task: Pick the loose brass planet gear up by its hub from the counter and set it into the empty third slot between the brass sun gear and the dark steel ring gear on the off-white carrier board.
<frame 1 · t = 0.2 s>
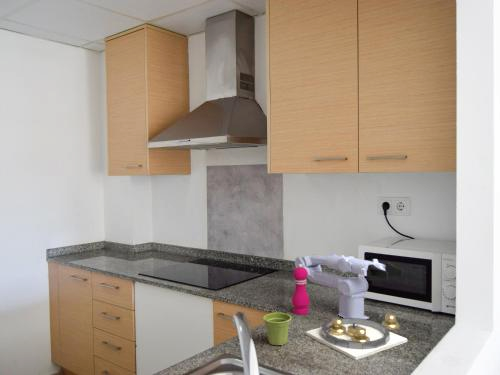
hand: (395, 274, 145), 21 cm above the worktop, tool horizontal, fingers open, 7 cm apart
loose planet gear: (390, 327, 153), on the worktop
plant pot: (277, 343, 141), on the worktop
carrier board: (355, 338, 143), on the worktop
pepper mill: (300, 312, 170), on the worktop
ring gear: (355, 332, 143), on the carrier board, point 1 cm above the worktop
sun and planets: (351, 329, 142), in the ring gear, point 3 cm above the worktop
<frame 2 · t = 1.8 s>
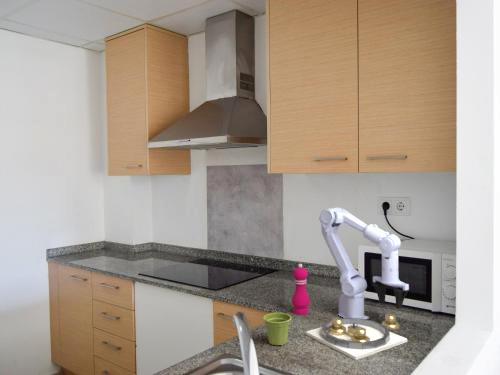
hand: (390, 305, 152), 8 cm above the worktop, tool pointing down, fingers open, 7 cm apart
nothing on the worktop moved.
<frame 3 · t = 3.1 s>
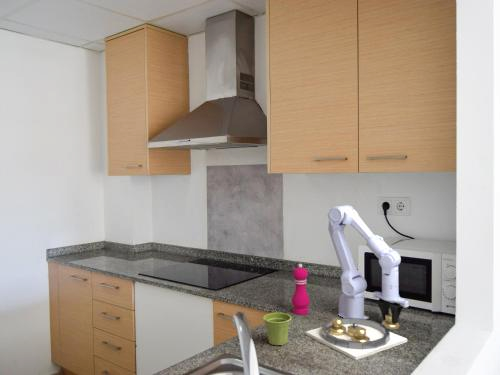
hand: (390, 321, 153), 2 cm above the worktop, tool pointing down, fingers closed on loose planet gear, 4 cm apart
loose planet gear: (390, 326, 153), on the worktop, touching gripper
everything else where it was.
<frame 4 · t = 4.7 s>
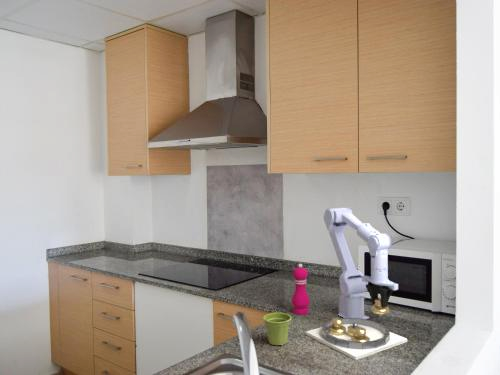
hand: (379, 305, 149), 9 cm above the worktop, tool pointing down, fingers closed on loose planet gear, 4 cm apart
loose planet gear: (380, 311, 149), point 7 cm above the worktop, touching gripper
everything else where it was.
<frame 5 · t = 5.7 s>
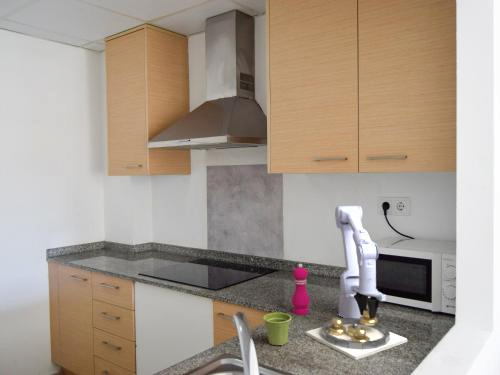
hand: (367, 316, 146), 6 cm above the worktop, tool pointing down, fingers closed on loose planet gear, 4 cm apart
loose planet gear: (368, 322, 147), point 4 cm above the worktop, touching gripper
everything else where it was.
when the fingers open (4 cm above the worktop, at t = 6.4 s): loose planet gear drops 1 cm, resting on carrier board.
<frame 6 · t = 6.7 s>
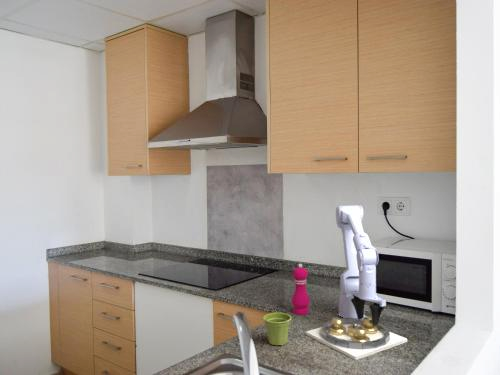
hand: (367, 321, 146), 4 cm above the worktop, tool pointing down, fingers open, 6 cm apart
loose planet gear: (368, 330, 147), point 1 cm above the worktop, touching carrier board
everything else where it was.
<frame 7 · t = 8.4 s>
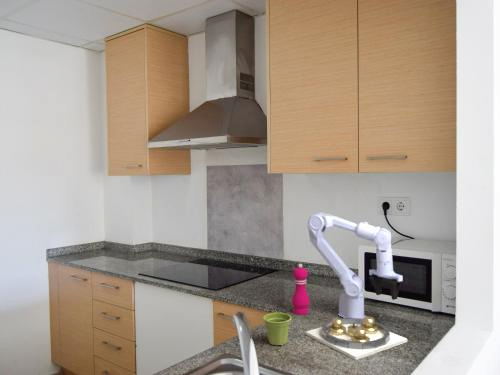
hand: (386, 296, 157), 9 cm above the worktop, tool pointing down, fingers open, 7 cm apart
nothing on the worktop moved.
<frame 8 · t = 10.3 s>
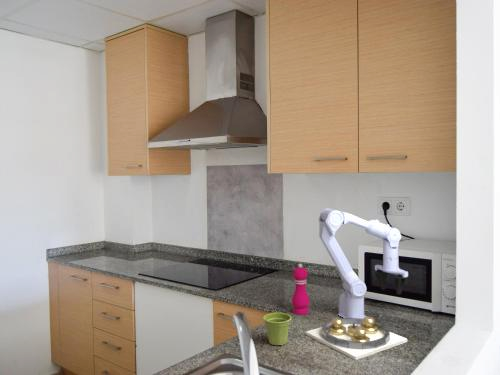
hand: (391, 291, 164), 9 cm above the worktop, tool pointing down, fingers open, 7 cm apart
nothing on the worktop moved.
at the end: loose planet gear 0.5 cm from the target spot on the carrier board, point 1.0 cm above the carrier board's base; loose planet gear tilted 0°; the gripper is holding nothing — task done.
